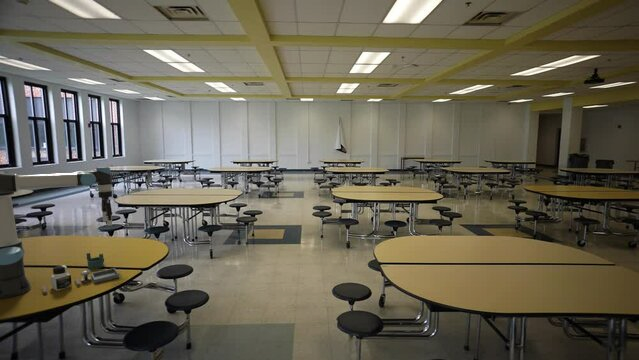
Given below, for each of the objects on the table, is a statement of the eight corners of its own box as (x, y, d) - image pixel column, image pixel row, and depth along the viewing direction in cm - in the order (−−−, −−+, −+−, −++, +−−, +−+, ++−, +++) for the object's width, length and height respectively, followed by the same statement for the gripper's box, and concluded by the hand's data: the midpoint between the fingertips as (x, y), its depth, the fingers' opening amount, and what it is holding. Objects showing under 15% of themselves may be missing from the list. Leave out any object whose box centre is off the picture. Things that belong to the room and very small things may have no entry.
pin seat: (43, 294, 178) (43, 292, 178) (42, 288, 186) (42, 285, 186) (80, 285, 189) (80, 283, 189) (78, 280, 196) (78, 277, 196)
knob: (82, 282, 193) (81, 273, 193) (80, 280, 197) (80, 271, 196) (91, 280, 196) (90, 271, 196) (90, 278, 200) (89, 269, 199)
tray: (94, 283, 192) (94, 279, 191) (91, 277, 201) (91, 273, 200) (119, 278, 200) (118, 274, 199) (114, 271, 209) (114, 268, 208)
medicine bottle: (57, 291, 183) (54, 270, 181) (51, 288, 186) (49, 267, 185) (72, 286, 189) (70, 265, 187) (66, 283, 192) (64, 263, 191)
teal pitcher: (104, 267, 216) (103, 254, 215) (86, 270, 211) (85, 256, 210) (104, 263, 223) (103, 250, 222) (87, 265, 219) (86, 252, 218)
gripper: (116, 192, 209) (118, 226, 212) (108, 188, 228) (110, 218, 230) (102, 193, 204) (104, 228, 207) (94, 189, 223) (97, 220, 225)
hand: (107, 223), depth 219 cm, fingers open, 13 cm apart
